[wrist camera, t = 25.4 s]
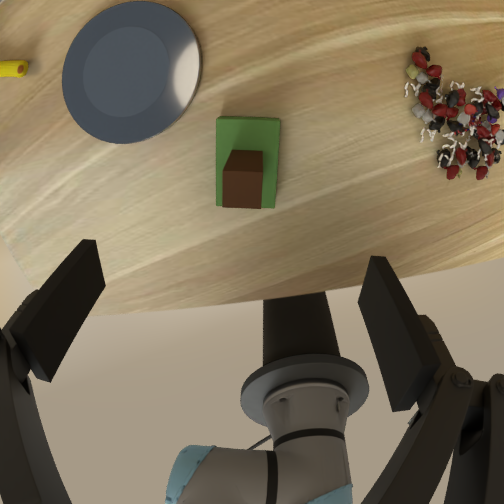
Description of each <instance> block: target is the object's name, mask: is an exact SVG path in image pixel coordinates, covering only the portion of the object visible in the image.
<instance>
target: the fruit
mask: <svg viewBox="0 0 504 504" xmlns="http://www.w3.org/2000/svg"><path fill="white" fill-rule="evenodd" d="M27 70H28V62H27V61H25V60H11V61H0V77H19V78H20V77H23V76H24V75H26V73H27Z"/></svg>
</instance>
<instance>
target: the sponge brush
mask: <svg viewBox="0 0 504 504" xmlns="http://www.w3.org/2000/svg"><path fill="white" fill-rule="evenodd" d="M279 136H280V120H279V118H264V117H237V116H220V117H218V118H217V119H216V206H222V207H227V208H251V209H261V208H275V197H276V183H277V168H278V152H279Z"/></svg>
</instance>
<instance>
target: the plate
mask: <svg viewBox="0 0 504 504" xmlns="http://www.w3.org/2000/svg"><path fill="white" fill-rule="evenodd" d="M201 70H202V56H201V50H200V46H199V42H198V39H197V37H196V35H195V33H194V31H193V30H192V28H191V27H190V25H189V24H188V23H187V22H186V21H185V20H184V19H183V18H182V17H181V16H180V15H178V14H177V13H176V12H174V11H173V10H172V9H170V8H168V7H166V6H164V5H160V4H157V3H154V2H148V1H133V2H126V3H122V4H118V5H115V6H113V7H110V8H108V9H106V10H105V11H103V12H101V13H99V14H98V15H97V16H95V17H94V18H92V19H91V20H90V21H89V22H88V23H87V24H86V25H85V26H84V27H83V28H82V29H81V30H80V32H79V33H78V34H77V36H76V37H75V39H74V40H73V42H72V44H71V46H70V48H69V50H68V53H67V55H66V58H65V62H64V66H63V72H62V89H63V95H64V99H65V102H66V105H67V108H68V110H69V112H70V114H71V115H72V117H73V119H74V120H75V121H76V122H77V124H78V125H79V126H80V127H81V128H82V129H83V130H85V131H86V132H87V133H89V134H90V135H92V136H93V137H95V138H97V139H100V140H102V141H106V142H109V143H115V144H129V143H136V142H140V141H144V140H146V139H149V138H152V137H153V136H155V135H157V134H159V133H161V132H163V131H164V130H166V129H167V128H168V127H170V126H171V125H172V124H174V123H175V122H176V121H177V120H178V119H179V118H180V117H181V116H182V114H183V113H184V112H185V111H186V109H187V108H188V106H189V105H190V103H191V102H192V100H193V98H194V96H195V94H196V91H197V88H198V86H199V82H200V77H201Z"/></svg>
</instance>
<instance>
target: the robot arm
mask: <svg viewBox="0 0 504 504" xmlns="http://www.w3.org/2000/svg"><path fill="white" fill-rule="evenodd" d="M105 286H106V285H105V281H104V276H103V272H102V268H101V263H100V259H99V254H98V249H97V245H96V240H88V239H83V240H82V241H81V242H80V243H79V244H78V245H77V246H76V247H75V248H74V249H73V251H72V252H71V253H70V254H69V255H68V256H67V257H66V258H65V260H64V261H63V262H62V263H61V264H60V265H59V266H58V268H57V269H56V270H55V271H54V272H53V273H52V275H51V276H50V277H49V278H48V279H47V281H46V282H45V283H44V284H43V285H42V287H41V288H40V289H39V290H37V289H36V290H35V291H34V292H32V293H31V294H29V295H28V296H27V297H26V299H25V300H24V301H23V302H22V305H20V306H19V308H18V309H17V311H15V313H14V314H13V315H12V316H11V318H10V319H9V321H8V322H7V323H6V325H5V326H4V327H3V329H2V330H1V328H0V495H1V498H2V501H3V504H72V503H71V500H70V498H69V496H68V494H67V491H66V489H65V487H64V485H63V482H62V480H61V477H60V475H59V472H58V470H57V467H56V465H55V462H54V459H53V457H52V454H51V451H50V448H49V445H48V442H47V440H46V436H45V433H44V430H43V427H42V423H41V420H40V417H39V413H38V409H37V405H36V401H35V397H34V393H33V389H32V385H31V380H30V378H29V376H28V373H29V371H30V369H31V370H32V372H33V373H34V375H35V376H36V378H37V379H40V380H43V381H47V382H50V383H51V381H52V379H53V377H54V375H55V373H56V371H57V369H58V367H59V365H60V364H61V361H62V360H63V358H64V356H65V354H66V352H67V350H68V349H69V347H70V345H71V343H72V342H73V340H74V338H75V336H76V335H77V333H78V331H79V329H80V328H81V326H82V324H83V322H84V321H85V319H86V317H87V316H88V314H89V312H90V311H91V309H92V307H93V306H94V304H95V302H96V301H97V299H98V298H99V296H100V294H101V293H102V291H103V290H104V288H105ZM358 304H359V307H360V310H361V313H362V315H363V319H364V322H365V325H366V327H367V330H368V333H369V336H370V339H371V343H372V346H373V349H374V352H375V355H376V358H377V361H378V364H379V368H380V371H381V374H382V377H383V381H384V384H385V388H386V391H387V394H388V398H389V401H390V405H391V408H392V412H397V411H405V410H410V409H411V407H412V406H413V405H414V403H415V402H417V404H418V408H419V410H418V411H417V412H416V413H415V415H414V416H413V417H412V418H411V420H410V421H409V422H408V424H409V427H408V429H407V431H406V433H405V434H404V436H403V438H402V440H401V442H400V443H399V445H398V447H397V449H396V450H395V452H394V454H393V456H392V457H391V459H390V460H389V462H388V464H387V465H386V467H385V469H384V470H383V472H382V473H381V475H380V476H379V478H378V480H377V481H376V483H375V484H374V486H373V487H372V488H371V490H370V491H369V493H368V494H367V496H366V497H365V498H364V500H363V502H362V503H361V504H429V502H430V500H431V498H432V496H433V494H434V492H435V490H436V488H437V486H438V484H439V482H440V480H441V477H442V475H443V473H444V471H445V469H446V466H447V464H448V461H449V459H450V457H451V454H452V452H453V458H452V465H451V470H450V476H449V482H448V486H447V491H446V496H445V500H444V504H504V375H503V374H495V375H493V376H492V378H491V379H490V380H489V382H484V381H479V380H473V378H472V376H471V375H470V373H469V372H468V371H466V370H465V369H463V368H460V367H456V365H455V363H454V361H453V359H452V357H451V355H450V353H449V351H448V349H447V347H446V345H445V343H444V341H442V340H443V339H442V337H441V335H440V334H439V331H438V329H437V327H436V326H435V324H434V322H433V321H432V320H431V319H429V318H428V317H427V316H426V315H418V314H417V313H416V311H415V309H414V307H413V305H412V303H411V301H410V300H409V297H408V296H407V294H406V292H405V290H404V288H403V286H402V285H401V283H400V281H399V279H398V278H397V276H396V274H395V272H394V271H393V269H392V267H391V265H390V264H389V262H388V260H387V259H386V257H381V256H371V257H370V261H369V265H368V268H367V272H366V276H365V279H364V283H363V286H362V289H361V293H360V296H359V300H358ZM349 404H350V401H349V396H348V392H347V390H346V388H345V387H344V386H343V385H341V384H340V383H338V382H336V381H333V380H329V379H323V378H306V379H299V380H294V381H290V382H287V383H284V384H281V385H279V386H277V387H275V388H274V389H272V390H271V391H270V392H269V393H267V395H266V396H265V397H264V399H263V416H264V419H265V421H266V424H267V427H268V429H269V431H270V435H269V436H267V437H266V438H264V439H263V440H261V441H259V442H258V443H256V444H255V445H253V446H252V447H250V448H249V449H247V450H244V449H231V448H221V447H216V446H198V445H189V446H187V447H185V448H184V449H183V450H181V452H180V453H179V455H178V456H177V458H176V461H175V463H174V465H173V468H172V471H171V474H170V477H169V481H168V485H167V490H166V500H165V504H352V487H353V485H352V483H351V476H350V470H349V462H348V456H347V449H346V443H345V437H344V431H345V426H346V420H347V416H348V411H349ZM270 438H272V439H273V446H274V447H273V448H274V449H273V451H266V450H253V449H254V448H256V447H257V446H259V445H261V444H262V443H264V442H265V441H267V440H268V439H270ZM453 449H454V451H453Z"/></svg>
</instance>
